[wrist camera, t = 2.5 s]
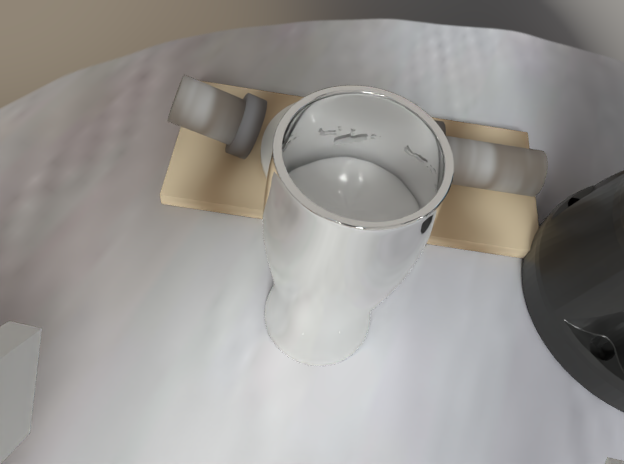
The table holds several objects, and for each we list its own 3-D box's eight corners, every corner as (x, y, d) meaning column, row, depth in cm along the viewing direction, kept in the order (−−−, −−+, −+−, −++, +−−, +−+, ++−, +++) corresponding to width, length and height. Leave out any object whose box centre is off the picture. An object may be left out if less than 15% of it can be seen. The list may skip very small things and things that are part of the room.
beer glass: (240, 281, 34) (241, 99, 21) (348, 250, 36) (408, 66, 23) (280, 392, 31) (307, 258, 18) (395, 352, 32) (496, 205, 20)
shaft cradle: (521, 141, 42) (558, 84, 37) (534, 260, 37) (579, 211, 32) (190, 89, 41) (184, 24, 36) (155, 202, 36) (142, 144, 31)
